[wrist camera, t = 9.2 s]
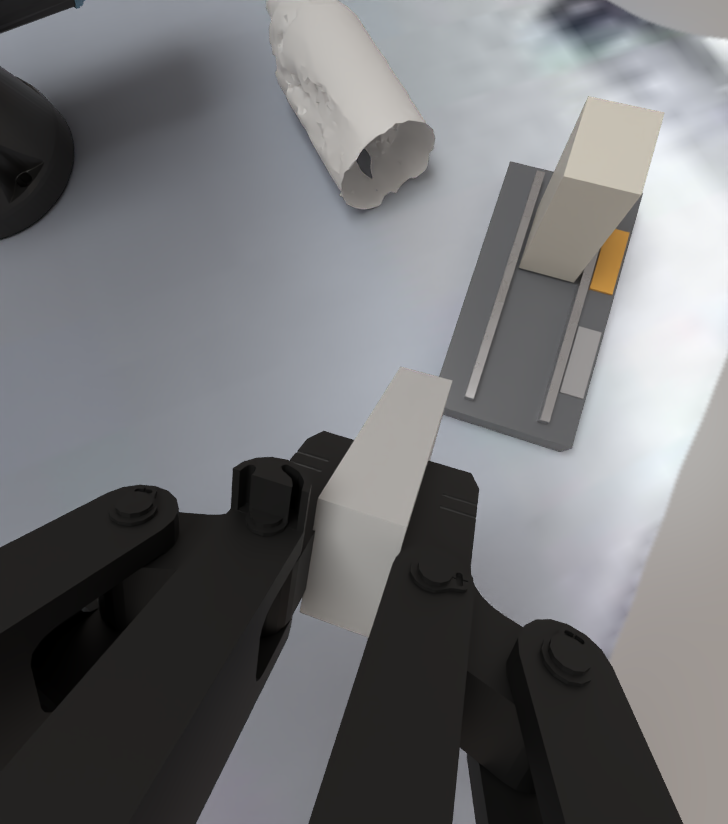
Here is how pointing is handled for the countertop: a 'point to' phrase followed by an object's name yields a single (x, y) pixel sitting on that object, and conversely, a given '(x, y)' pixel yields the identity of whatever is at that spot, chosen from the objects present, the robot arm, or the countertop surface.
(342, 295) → the countertop surface
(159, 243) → the countertop surface
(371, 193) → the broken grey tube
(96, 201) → the countertop surface
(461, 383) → the switch plate
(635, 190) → the switch tab
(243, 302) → the countertop surface
